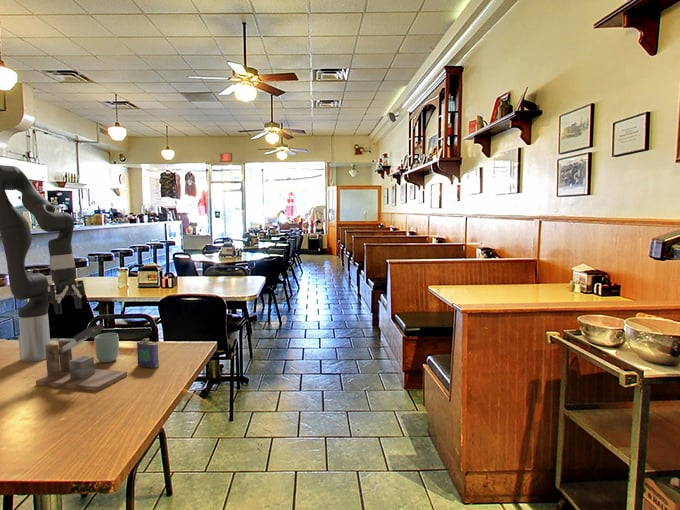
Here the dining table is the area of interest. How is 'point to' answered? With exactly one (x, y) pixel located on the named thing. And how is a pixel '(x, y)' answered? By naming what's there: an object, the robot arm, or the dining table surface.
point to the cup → (107, 347)
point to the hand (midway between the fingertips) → (69, 311)
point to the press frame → (75, 371)
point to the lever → (81, 338)
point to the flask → (147, 354)
